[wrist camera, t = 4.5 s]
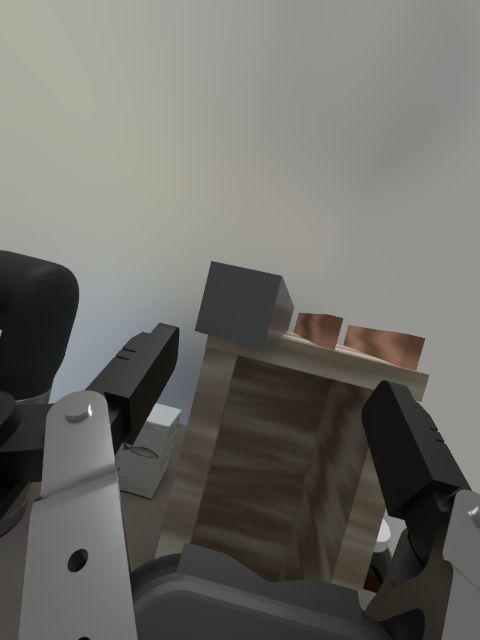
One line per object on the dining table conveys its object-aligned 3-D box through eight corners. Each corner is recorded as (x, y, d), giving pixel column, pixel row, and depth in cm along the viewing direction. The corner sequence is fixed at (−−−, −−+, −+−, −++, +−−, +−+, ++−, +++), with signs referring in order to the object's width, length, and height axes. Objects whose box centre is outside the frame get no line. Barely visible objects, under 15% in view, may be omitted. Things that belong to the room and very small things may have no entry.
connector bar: (262, 350, 10) (282, 275, 10) (194, 330, 11) (211, 261, 11) (287, 331, 31) (294, 307, 30) (263, 325, 31) (269, 301, 31)
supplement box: (108, 489, 41) (125, 414, 41) (130, 461, 49) (144, 398, 48) (151, 501, 41) (169, 426, 40) (167, 472, 48) (182, 408, 48)
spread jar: (289, 595, 32) (313, 508, 32) (313, 537, 42) (331, 470, 41) (399, 688, 26) (431, 582, 25) (397, 594, 36) (420, 516, 35)
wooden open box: (314, 774, 20) (439, 341, 18) (116, 711, 20) (219, 287, 19) (289, 589, 33) (360, 328, 31) (169, 555, 33) (233, 296, 32)
